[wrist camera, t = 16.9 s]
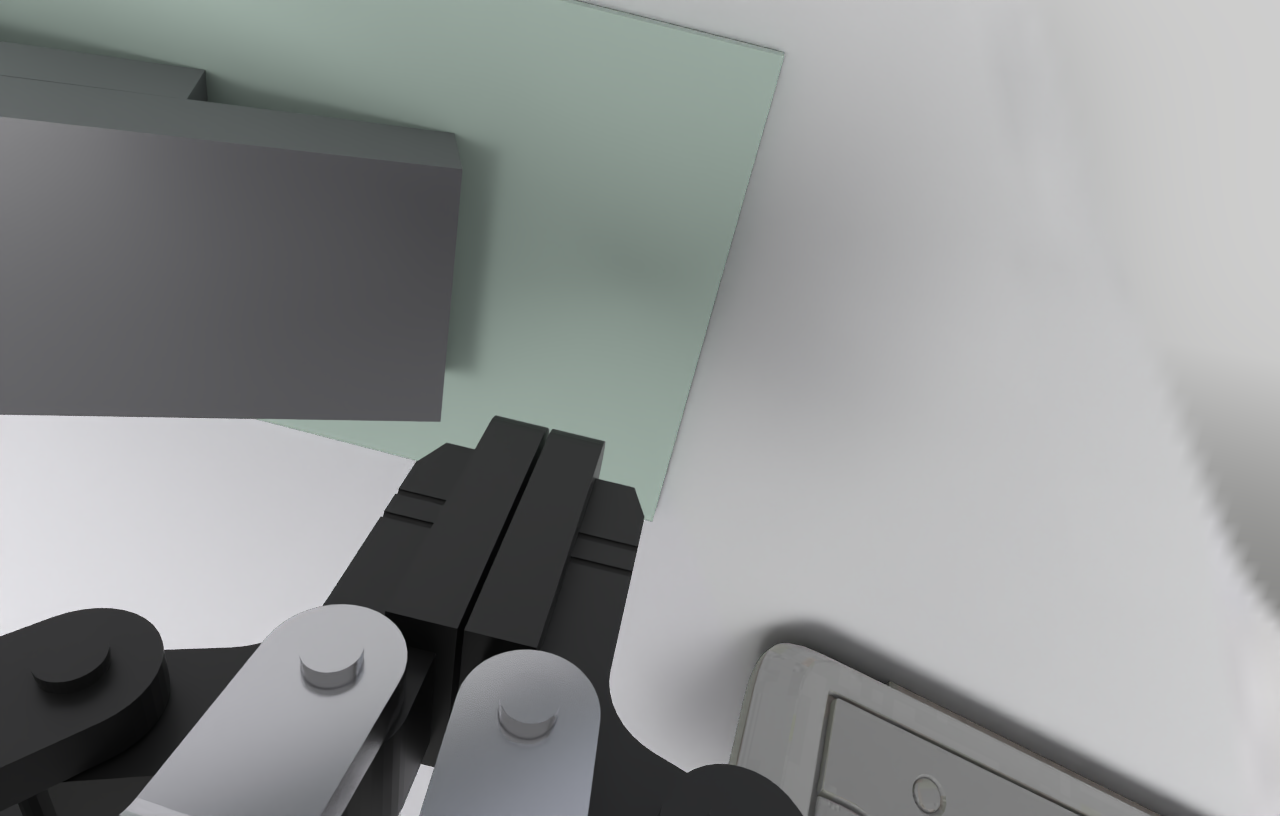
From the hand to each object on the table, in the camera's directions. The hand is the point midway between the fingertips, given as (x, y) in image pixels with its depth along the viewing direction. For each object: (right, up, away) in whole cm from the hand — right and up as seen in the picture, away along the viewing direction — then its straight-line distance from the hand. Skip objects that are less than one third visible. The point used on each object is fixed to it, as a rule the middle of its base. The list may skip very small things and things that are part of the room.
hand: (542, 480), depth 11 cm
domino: (-2, +3, +4) cm, 6 cm away
